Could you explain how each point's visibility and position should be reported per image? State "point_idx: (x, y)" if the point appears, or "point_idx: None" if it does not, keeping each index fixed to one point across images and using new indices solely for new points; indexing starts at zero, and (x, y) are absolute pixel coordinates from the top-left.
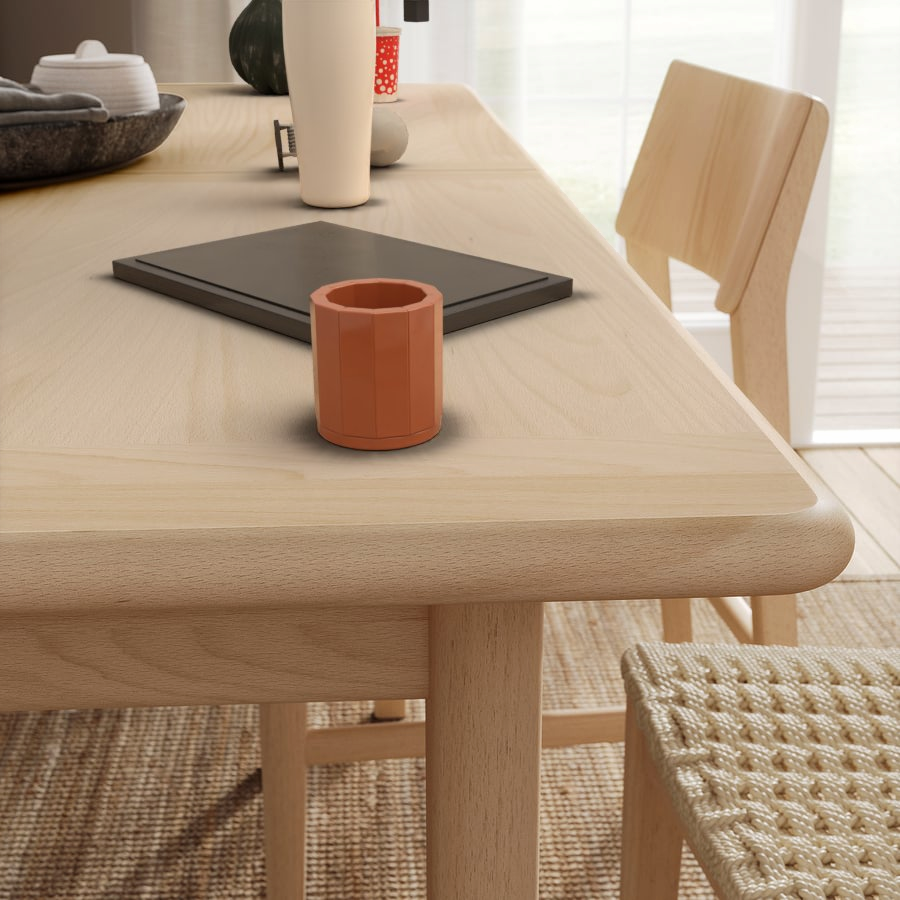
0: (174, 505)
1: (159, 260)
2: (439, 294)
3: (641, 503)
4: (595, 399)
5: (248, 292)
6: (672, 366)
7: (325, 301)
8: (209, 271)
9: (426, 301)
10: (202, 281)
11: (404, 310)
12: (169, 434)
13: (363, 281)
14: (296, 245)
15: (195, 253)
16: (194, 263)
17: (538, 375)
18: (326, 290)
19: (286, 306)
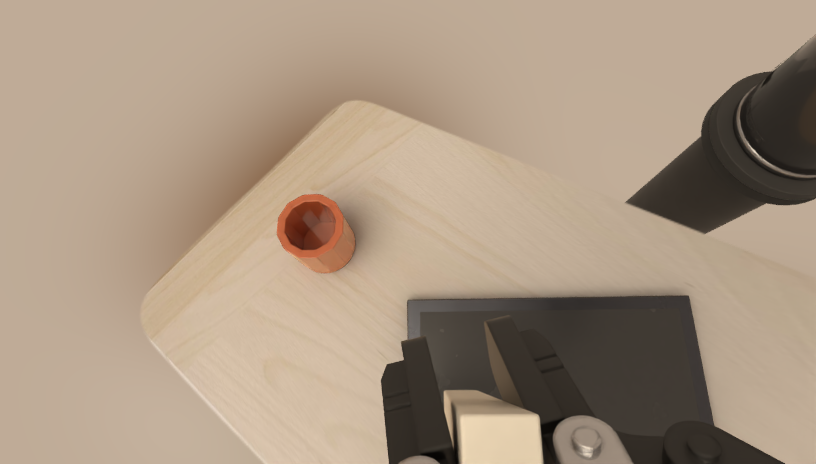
0: (328, 142)
1: (662, 318)
2: (286, 248)
3: (191, 266)
4: (270, 350)
5: (536, 313)
6: (266, 430)
7: (319, 199)
8: (606, 326)
9: (281, 234)
10: (587, 309)
11: (279, 216)
12: (389, 175)
13: (333, 236)
14: (643, 432)
15: (667, 352)
16: (636, 332)
17: (316, 357)
18: (334, 211)
19: (491, 311)
